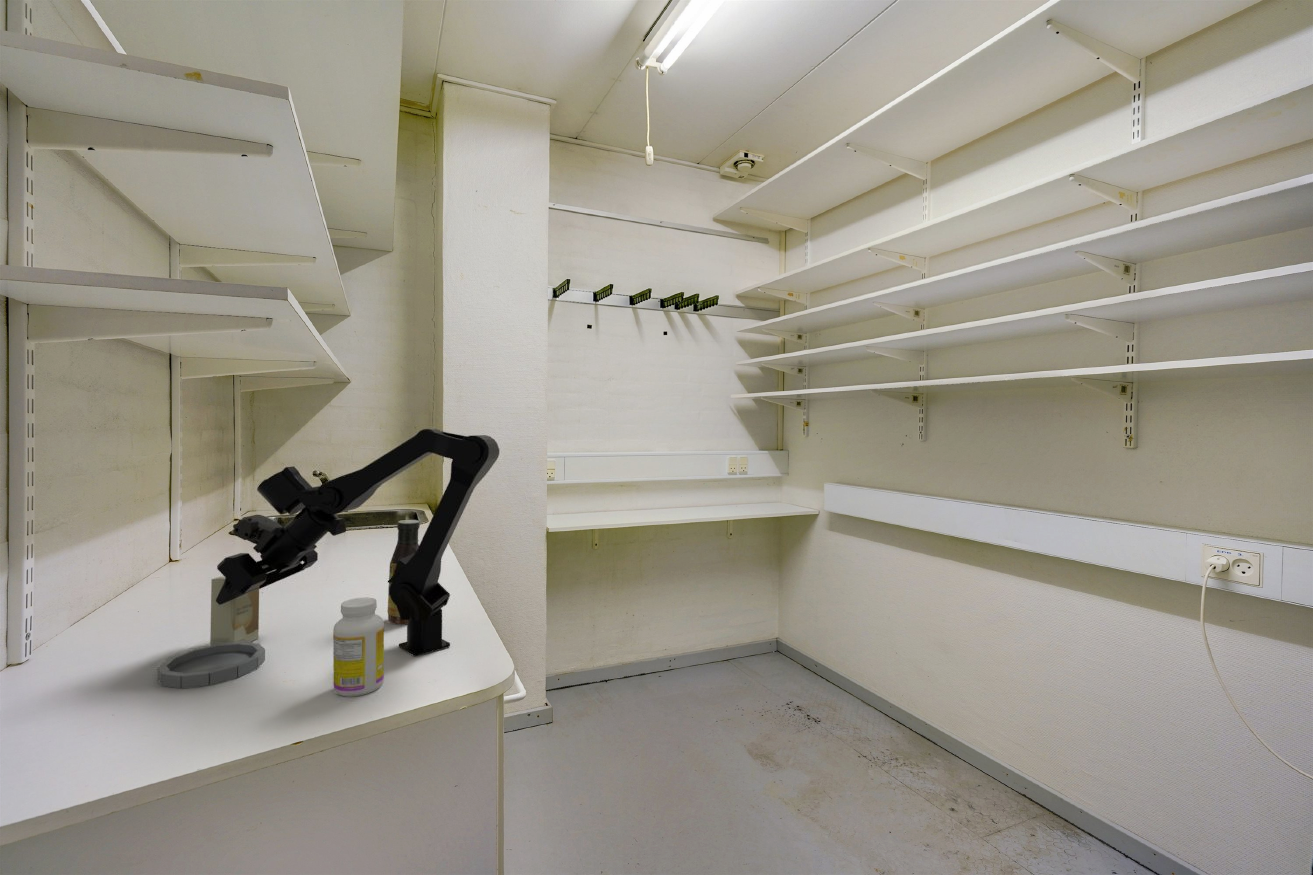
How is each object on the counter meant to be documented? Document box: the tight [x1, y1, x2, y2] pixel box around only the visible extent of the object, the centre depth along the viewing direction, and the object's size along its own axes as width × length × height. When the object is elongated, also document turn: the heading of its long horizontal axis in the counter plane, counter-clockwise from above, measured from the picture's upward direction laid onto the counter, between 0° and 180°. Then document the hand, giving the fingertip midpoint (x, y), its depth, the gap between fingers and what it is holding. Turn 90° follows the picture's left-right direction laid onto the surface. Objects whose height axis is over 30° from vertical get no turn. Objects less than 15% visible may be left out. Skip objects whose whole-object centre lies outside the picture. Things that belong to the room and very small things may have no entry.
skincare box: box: [209, 574, 260, 646], centre depth 101 cm, size 6×4×12 cm
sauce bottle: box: [387, 519, 421, 625], centre depth 114 cm, size 6×6×20 cm
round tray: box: [157, 642, 266, 689], centre depth 91 cm, size 13×13×2 cm
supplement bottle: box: [332, 597, 385, 698], centre depth 85 cm, size 7×7×13 cm
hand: (238, 594), depth 101 cm, fingers open, 9 cm apart
